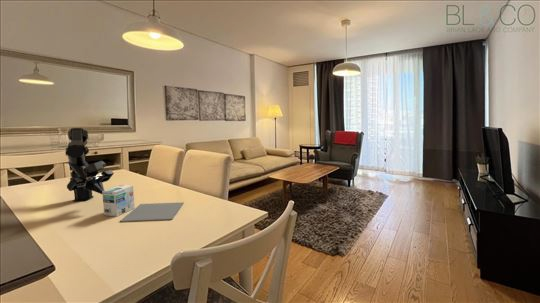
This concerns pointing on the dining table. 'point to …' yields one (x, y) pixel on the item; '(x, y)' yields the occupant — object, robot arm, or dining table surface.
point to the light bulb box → (118, 200)
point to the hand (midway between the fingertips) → (103, 193)
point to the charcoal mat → (153, 212)
